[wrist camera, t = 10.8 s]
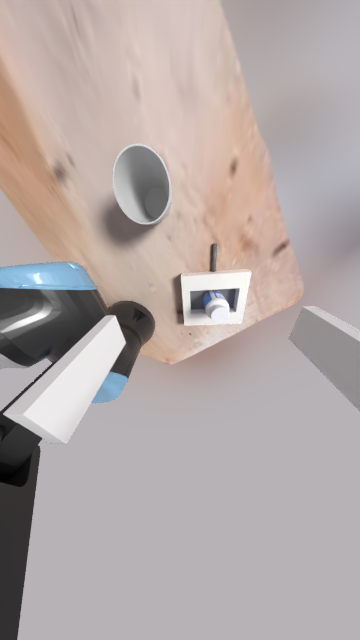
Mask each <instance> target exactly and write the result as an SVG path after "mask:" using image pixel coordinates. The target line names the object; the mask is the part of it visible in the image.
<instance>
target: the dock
mask: <svg viewBox="0 0 360 640" xmlns="http://www.w3.org/2000/svg"><path fill="white" fill-rule="evenodd" d="M216 254H217V244H213V253H212V271H210V272H196V273H182V274H181V286H182V299H183V313H184V326H189V325H216V324H218V323H215V322H213V321H212V319H211V318H209V317H208V316H207V314H206V311H205V307H204V304H203V296H204V294H205V293H206V292H207V291H209V290H219V291H220V292H221V293H222V295H223V296H224V298H225V299H226V301H227V302H228V304H229V312H230V317H229V319H228V320H227V321H226V322H224V323H220V324H242V319H243V314H244V309H245V304H246V298H247V293H248V288H249V283H250V278H251V271H250V270H248V269H238V270H224V271H216Z"/></svg>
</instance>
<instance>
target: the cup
mask: <svg viewBox="0 0 360 640" xmlns="http://www.w3.org/2000/svg"><path fill="white" fill-rule="evenodd" d="M112 183H113V190H114V194H115V197H116V200H117V202H118V204H119V206H120V208H121V209H122V211H123V212H124V213H125V214H126V215H127V216H128V217H129V218H130V219H131V220H133V221H135V222H137V223H140V224H157V223H159V222H161V221H162V220H164V219H165V218H166V216H167V215H168V213H169V211H170V208H171V204H172V189H171V183H170V177H169V173H168V170H167V168H166V165H165V163H164V162H163V160H162V158H161V157H160V156H159V154H158V153H157V152H156V151H155V150H153V149H152V148H151V147H149V146H147V145H145V144H140V143H135V144H131V145H128V146H126V147H125V148H124V149H123V150H122V151H121V152H120V153H119V155H118V156H117V158H116V160H115V163H114V167H113V173H112Z"/></svg>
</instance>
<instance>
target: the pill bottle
mask: <svg viewBox="0 0 360 640" xmlns="http://www.w3.org/2000/svg"><path fill="white" fill-rule="evenodd" d="M203 304H204V307H205V311H206V314H207V316H208V317H209V318H211V319H212V321H213V322H215V323H218V324H220V323H224V322H226V321H227V320H228V319H229V317H230V312H229V304H228V302H227V301H226V299H225V298H224V296H223V295H222V293H221V292H220V291H219V290H209V291H207V292H206V293H205V294H204V296H203Z"/></svg>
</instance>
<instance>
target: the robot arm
mask: <svg viewBox="0 0 360 640" xmlns="http://www.w3.org/2000/svg"><path fill="white" fill-rule="evenodd" d="M97 289H98V287H97V286H95V284H94V283H93V281H92V279H91V278H90V276H89V275H88V273H87V271H86V270H85V269H84V268H83V267H82V266H81V265H79V264H77V263H74V262H51V263H40V264H27V265H18V266H8V267H0V369H2V368H28V367H30V366H32V365H34V364H36V363H37V362H39V361H41V360H43V359H45V358H47V359H49V360H50V361H51V362H52V364H51V365H50V366H49V367H48V368H47V369H46V370H45V371H44V372H42V374H40V375H39V376H38V377H37V378H36V379H35V380H34V382H32V383H31V384H30V385H28V387H26V388H25V389H24V390H23V391H22V392H21V393H20V394H19V395H18V396H17V397H16V398H15V399H13V400H12V401H11V402H10V403H9V404H8V405H7V406H6V407H5V408H4V409H3V410H2V411H0V640H17V636H18V628H19V620H20V611H21V604H22V596H23V595H22V594H23V587H24V580H25V572H26V562H27V554H28V547H29V539H30V531H31V523H32V515H33V507H34V498H35V491H36V482H37V474H38V466H39V458H40V446H38V444H39V442H40V441H41V440H42V439H44V440H46V441H48V442H49V443H50V444H67V443H68V441H69V439H70V437H71V436H72V434H73V432H74V431H75V429H76V427H77V426H78V424H79V422H80V420H81V419H82V417H83V415H84V414H85V412H86V410H87V408H88V407H89V405H90V403H103V402H109V401H111V400H114V399H115V398H117V397H118V396H119V395H120V393H121V392H122V390H123V388H124V386H125V384H126V383H127V382H128V378H129V375H130V373H131V370H132V368H133V365H134V363H135V360H136V358H137V356H138V353H139V351H140V349H141V347H142V346H143V345H144V344H145V343H146V342H147V341H148V340H149V339H150V338H151V337H152V335H153V332H154V329H155V321H154V318H153V316H152V314H151V313H150V312H149V311H148V310H147V309H146V308H145V307H144V306H142V305H140V304H138V303H136V302H132V301H120V302H117V303H115V304H114V305H112V306H111V307H110V308H109V309H108V308H107V306H106V304H105V303H104V301H103V299H102V297H101V295H100V293H99V292H98V290H97ZM289 340H291V342H292V343H293V344H294V345H295V346H296V347H297V348H298V349H299V350H300V351H301V352H302V353H303V354H304V355H305V356H306V357H307V358H308V359H309V360H310V361H311V362H312V363H313V364H314V365H315V366H316V367H317V368H318V369H319V370H320V371H321V372H322V373H323V374H324V375H325V376H326V377H327V378H328V379H329V380H330V381H331V382H332V383H333V384H334V385H335V386H336V387H337V389H339V390H340V392H341V393H342V394H344V396H345V397H346V398H347V399H348V400H349V401H350V402H351V403H352V404H353V405H354V406H355V407H356V408H357V409H358V410H359V411H360V330H358V329H356V328H355V327H353V326H351V325H349V324H347V323H345V322H344V321H342V320H340V319H338V318H336V317H334V316H332V315H330V314H329V313H327V312H325V311H323V310H322V309H320V308H318V307H316V306H304V307H302V309H301V312H300V314H299V316H298V318H297V321H296V323H295V325H294V328H293V330H292V332H291V334H290V336H289Z"/></svg>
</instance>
